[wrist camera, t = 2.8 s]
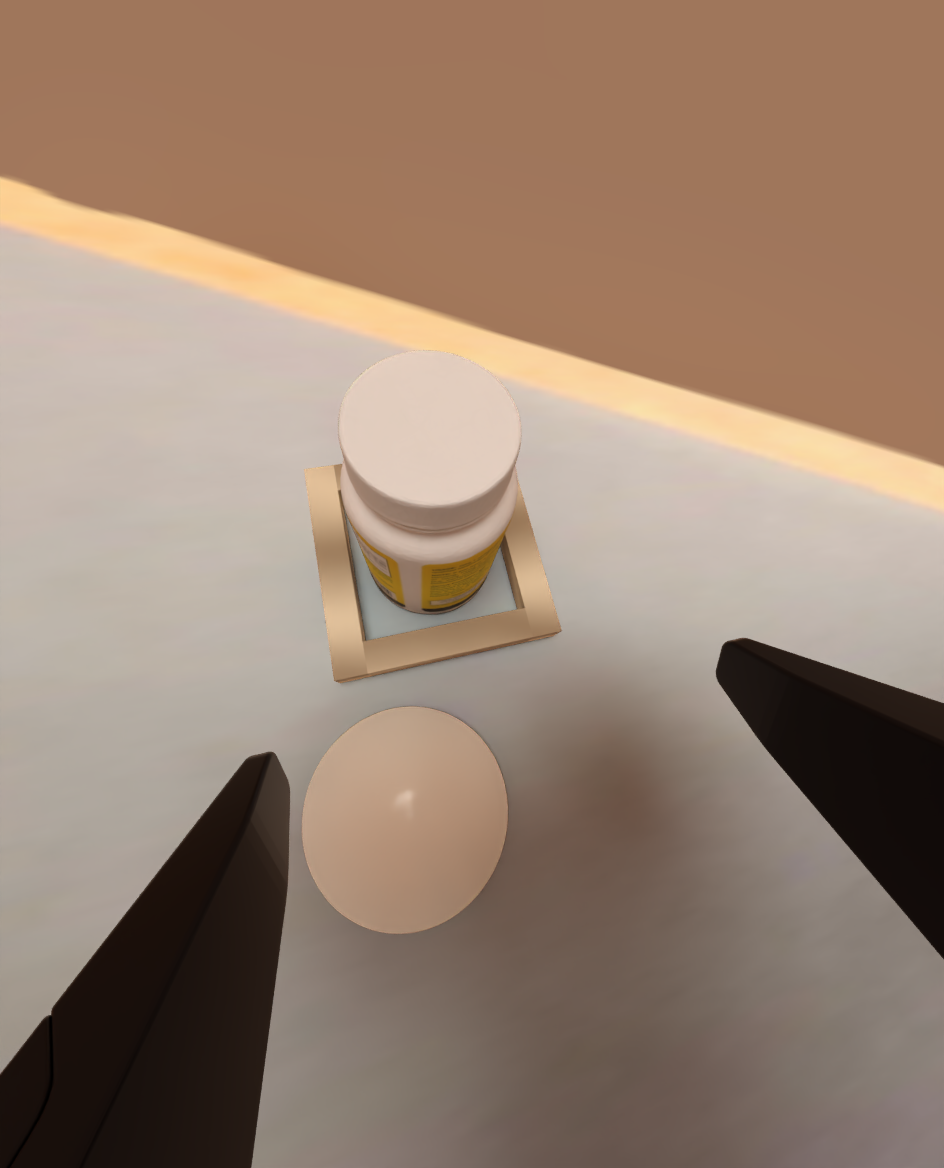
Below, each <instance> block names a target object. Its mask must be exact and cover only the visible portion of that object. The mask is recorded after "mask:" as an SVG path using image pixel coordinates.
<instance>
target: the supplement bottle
mask: <svg viewBox="0 0 944 1168" xmlns="http://www.w3.org/2000/svg"><path fill="white" fill-rule="evenodd" d="M338 435H339V441H340V446H341V450H342V454H343V457H344V460H343V464H342V469H341V477H340V487H341V495H342V500H343V505H344V508H345V511H346V514H347V516H348V519H349V521H350V523H351V526H352V528H353V530H354V533H355V535H356V538H357V540H358V543H359V545H360V548H361V550H362V553H363V555H364V558H365V560H366V562H367V565H368V567H369V570H370V572H371V575H372V577H373V579H374V581H375V583H376V585H377V586H378V588H379V589H380V591H381V592H382V593H383V594H384V595H385V596H386V597H387V598H388V599H389V600H390V601H392V602H393V603H394V604H396V605H398V606H399V607H401V608H404V609H406V610H409V611H412V612H416V613H423V614H438V613H444V612H448V611H451V610H454V609H456V608H458V607H460V606H462V605H464V604H465V603H466V602H468V601H469V600H470V599H471V598H473V597H474V595H475V594H476V593H477V592H478V591H479V589H480V588H481V586H482V585H483V583H484V581H485V579H486V577H487V575H488V572H489V570H490V568H491V565H492V563H493V561H494V558H495V556H496V554H497V551H498V549H499V547H500V544H501V542H502V539H503V537H504V535H505V532H506V530H507V528H508V526H509V523H510V521H511V519H512V516H513V513H514V510H515V506H516V501H517V493H518V479H517V471H516V467H515V464H516V461H517V457H518V454H519V450H520V445H521V423H520V417H519V414H518V410H517V407H516V405H515V403H514V401H513V399H512V397H511V395H510V394H509V392H508V391H507V389H506V388H505V387H504V385H503V384H502V383H501V382H500V381H499V380H498V379H497V378H496V377H495V376H494V375H493V374H492V373H491V372H489V371H488V370H486V369H485V368H484V367H482V366H480V365H479V364H477V363H475V362H473V361H471V360H469V359H466V358H464V357H461V356H458V355H455V354H452V353H447V352H441V351H430V350H420V351H410V352H405V353H401V354H397V355H394V356H391V357H388V358H386V359H383V360H381V361H379V362H378V363H376V364H374V365H372V366H371V367H369V368H368V369H367V370H365V371H364V372H363V373H362V374H361V375H360V376H359V377H358V378H357V379H356V380H355V381H354V383H353V384H352V385H351V386H350V388H349V389H348V391H347V393H346V395H345V397H344V399H343V402H342V405H341V408H340V412H339V418H338Z"/></svg>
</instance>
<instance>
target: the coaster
mask: <svg viewBox="0 0 944 1168" xmlns="http://www.w3.org/2000/svg"><path fill="white" fill-rule="evenodd" d="M507 824H508V803H507V794H506V789H505V784H504V780H503V777H502V774H501V771H500V768H499V766H498V764H497V762H496V760H495V757H494V756H493V754H492V753H491V751H490V749H489V748H488V746H487V745H486V744H485V742H484V741H483V740H482V739H481V738H480V736H479V735H478V734H477V733H476V732H474V731H473V730H472V729H471V728H470V727H469V726H467V725H466V724H465V723H463V722H462V721H460V720H459V719H457V718H455V717H453V716H451V715H449V714H447V713H444V712H441V711H439V710H435V709H431V708H426V707H415V706H410V707H398V708H393V709H388V710H384V711H381V712H378V713H375V714H373V715H371V716H369V717H367V718H365V719H363V720H361V721H360V722H358V723H357V724H355V725H354V726H352V727H351V728H350V729H348V730H347V731H346V732H345V733H344V734H342V735H341V736H340V737H339V738H338V739H337V740H336V741H335V743H334V744H333V745H332V746H331V747H330V748H329V750H328V751H327V752H326V754H325V755H324V756H323V758H322V760H321V761H320V763H319V765H318V767H317V768H316V770H315V772H314V775H313V777H312V779H311V782H310V784H309V787H308V791H307V794H306V797H305V802H304V808H303V814H302V839H303V848H304V852H305V857H306V861H307V864H308V867H309V870H310V873H311V875H312V877H313V879H314V881H315V883H316V885H317V887H318V888H319V890H320V891H321V893H322V894H323V896H324V897H325V898H326V900H327V901H328V902H329V903H330V904H331V905H332V906H333V907H334V908H335V909H336V910H337V911H338V912H340V913H341V914H342V915H343V916H345V917H346V918H347V919H349V920H351V921H352V922H354V923H356V924H358V925H360V926H362V927H365V928H368V929H370V930H373V931H378V932H383V933H390V934H405V933H414V932H419V931H423V930H426V929H430V928H432V927H435V926H437V925H439V924H441V923H444V922H446V921H447V920H449V919H450V918H452V917H454V916H455V915H457V914H458V913H459V912H461V911H462V910H463V909H464V908H465V907H467V906H468V905H469V904H470V903H471V902H472V901H473V900H474V899H475V898H476V896H477V895H478V894H479V893H480V892H481V890H482V889H483V888H484V886H485V885H486V883H487V882H488V880H489V879H490V877H491V875H492V873H493V872H494V870H495V868H496V865H497V863H498V861H499V858H500V856H501V853H502V849H503V846H504V842H505V837H506V831H507Z"/></svg>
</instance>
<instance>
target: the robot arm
mask: <svg viewBox="0 0 944 1168" xmlns="http://www.w3.org/2000/svg"><path fill="white" fill-rule="evenodd" d="M716 677H717V680H718V682H719V684H720V685H721V687H722V688H723V690H724V691H725V692H726V694H727V695H728V697H729V698H730V700H731V701H732V702H733V704H734V705H735V707H736V708H737V709H738V711H739V712H740V714H741V715H742V717H743V718H744V719H745V721H746V722H747V724H748V725H749V726H750V728H751V729H752V731H753V732H754V734H755V735H756V736H757V738H758V739H759V740H760V742H761V743H762V744H763V746H764V747H765V748H766V750H767V751H768V752H769V753H770V754H771V756H772V757H773V758H774V759H775V760H776V762H777V763H778V764H779V765H780V766H781V768H782V769H783V770H784V771H785V772H786V773H787V775H788V776H789V777H790V778H791V779H792V781H793V782H794V783H795V784H796V785H797V786H798V788H799V789H800V790H801V791H802V792H803V794H804V795H805V796H806V797H807V798H808V799H809V801H810V802H811V803H812V804H813V805H814V807H815V808H816V809H817V810H818V811H819V812H820V814H821V815H822V816H823V817H824V818H825V820H826V821H827V822H828V823H829V824H830V825H831V827H832V828H833V829H834V830H835V831H836V833H837V834H838V835H839V836H840V837H841V838H842V840H843V841H844V842H845V843H846V844H847V846H848V847H849V848H850V849H851V850H852V851H853V853H854V854H855V855H856V856H857V857H858V859H859V860H860V861H861V862H862V863H863V864H864V866H865V867H866V868H867V869H868V870H869V872H870V873H871V874H872V875H873V876H874V877H875V879H876V880H877V881H878V882H879V883H880V885H881V886H882V887H883V888H884V889H885V890H886V892H887V893H888V894H889V895H890V896H891V898H892V899H893V900H894V901H895V902H896V903H897V905H898V906H899V907H900V908H901V909H902V911H903V912H904V913H905V914H906V915H907V916H908V918H909V919H910V920H911V921H912V922H913V924H914V925H915V926H916V927H917V928H918V929H919V931H920V932H921V933H922V934H923V935H924V937H925V938H926V939H927V940H928V941H929V942H930V944H931V945H932V946H933V947H934V948H935V950H936V951H937V952H938V953H939V954H940V955H941V957H942V958H943V959H944V703H941V702H938V701H935V700H932V699H929V698H926V697H923V696H920V695H917V694H914V693H911V692H908V691H905V690H902V689H899V688H896V687H893V686H890V685H887V684H884V683H881V682H878V681H875V680H872V679H869V678H866V677H863V676H860V675H857V674H854V673H851V672H848V671H845V670H841V669H838V668H835V667H832V666H829V665H826V664H823V663H820V662H817V661H814V660H811V659H808V658H805V657H802V656H799V655H796V654H793V653H790V652H787V651H784V650H781V649H778V648H775V647H772V646H769V645H766V644H763V643H760V642H757V641H754V640H751V639H748V638H739V639H735V640H730V641H727V642H725V643H724V644H723V646H722V649H721V653H720V657H719V660H718V664H717V668H716ZM289 822H290V787H289V782H288V779H287V777H286V775H285V773H284V771H283V768H282V766H281V764H280V762H279V760H278V758H277V756H276V754H275V753H274V752H266V753H262V754H258V755H253V756H250V757H248V758H247V759H246V760H245V761H244V762H243V763H242V765H241V766H240V767H239V769H238V770H237V771H236V772H235V774H234V775H233V776H232V778H231V779H230V780H229V781H228V783H227V784H226V785H225V787H224V788H223V789H222V790H221V792H220V793H219V794H218V796H217V797H216V798H215V799H214V801H213V802H212V803H211V805H210V806H209V807H208V808H207V810H206V811H205V812H204V814H203V815H202V816H201V817H200V819H199V820H198V821H197V823H196V824H195V825H194V826H193V828H192V829H191V830H190V832H189V833H188V834H187V835H186V837H185V838H184V839H183V841H182V842H181V843H180V844H179V846H178V847H177V848H176V850H175V851H174V852H173V853H172V855H171V856H170V857H169V859H168V860H167V861H166V862H165V864H164V865H163V866H162V868H161V869H160V870H159V871H158V873H157V874H156V875H155V877H154V878H153V879H152V880H151V882H150V883H149V884H148V885H147V887H146V888H145V889H144V891H143V892H142V893H141V894H140V896H139V897H138V898H137V900H136V901H135V902H134V903H133V905H132V906H131V907H130V909H129V910H128V911H127V912H126V914H125V915H124V916H123V918H122V919H121V920H120V921H119V923H118V924H117V925H116V927H115V928H114V929H113V930H112V932H111V933H110V934H109V936H108V937H107V938H106V939H105V941H104V942H103V943H102V945H101V946H100V947H99V948H98V950H97V951H96V952H95V954H94V955H93V956H92V957H91V959H90V960H89V961H88V963H87V964H86V965H85V966H84V968H83V969H82V970H81V972H80V973H79V974H78V975H77V977H76V978H75V979H74V981H73V982H72V983H71V984H70V986H69V987H68V988H67V990H66V991H65V992H64V993H63V995H62V996H61V997H60V999H59V1000H58V1001H57V1002H56V1004H55V1005H54V1006H53V1008H52V1011H51V1015H48V1016H46V1017H45V1018H44V1019H43V1020H42V1021H41V1023H40V1024H39V1025H38V1026H37V1028H36V1029H35V1030H34V1032H33V1033H32V1034H31V1035H30V1037H29V1038H28V1039H27V1041H26V1042H25V1043H24V1044H23V1046H22V1047H21V1048H20V1050H19V1051H18V1052H17V1053H16V1055H15V1056H14V1057H13V1059H12V1060H11V1061H10V1062H9V1064H8V1065H7V1066H6V1067H5V1069H4V1070H3V1071H2V1072H1V1074H0V1168H251V1165H252V1158H253V1150H254V1142H255V1135H256V1127H257V1119H258V1112H259V1104H260V1096H261V1089H262V1081H263V1073H264V1066H265V1058H266V1051H267V1043H268V1035H269V1028H270V1020H271V1012H272V1005H273V997H274V989H275V982H276V974H277V966H278V959H279V951H280V944H281V936H282V928H283V921H284V913H285V905H286V897H287V887H288V865H289Z"/></svg>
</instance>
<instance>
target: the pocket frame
mask: <svg viewBox="0 0 944 1168" xmlns="http://www.w3.org/2000/svg"><path fill="white" fill-rule="evenodd" d="M341 469H342V464H339V465H331V466H324V467H317V468H310V469H304V472H305V479H306V486H307V493H308V500H309V507H310V514H311V521H312V528H313V535H314V542H315V549H316V556H317V563H318V570H319V577H320V584H321V591H322V598H323V605H324V612H325V619H326V627H327V634H328V641H329V648H330V655H331V662H332V669H333V676H334V681H336V682H339V683H343V682H348V681H352V680H357V679H361V678H366V677H370V676H375V675H379V674H384V673H388V672H393V671H398V670H402V669H407V668H411V667H416V666H420V665H425V664H429V663H434V662H438V661H443V660H447V659H452V658H456V657H461V656H465V655H470V654H474V653H479V652H483V651H488V650H492V649H497V648H501V647H506V646H510V645H515V644H519V643H524V642H528V641H533V640H537V639H542V638H546V637H551V636H554V635H556V634H557V633H559V632H561V631H562V630H561V627H560V623H559V620H558V616H557V613H556V610H555V606H554V603H553V599H552V596H551V592H550V589H549V585H548V582H547V579H546V575H545V572H544V568H543V565H542V561H541V558H540V554H539V551H538V547H537V544H536V541H535V537H534V534H533V530H532V527H531V523H530V520H529V516H528V513H527V510H526V506H525V503H524V499H523V496H522V492H521V489H520V485H519V482H518V493H517V501H516V506H515V510H514V513H513V516H512V519H511V521H510V523H509V526H508V528H507V530H506V532H505V535H504V537H503V539H502V542H501V544H500V546H501V550H502V553H503V557H504V561H505V565H506V568H507V572H508V576H509V580H510V584H511V587H512V591H513V595H514V599H515V602H516V606H517V610H512V611H508V612H503V613H498V614H493V615H488V616H483V617H479V618H474V619H469V620H464V621H459V622H455V623H450V624H445V625H440V626H435V627H431V628H426V629H421V630H416V631H411V632H406V633H402V634H397V635H392V636H387V637H382V638H378V639H373V640H368V641H366V639H365V633H364V627H363V621H362V615H361V609H360V603H359V597H358V591H357V585H356V579H355V573H354V567H353V561H352V555H351V548H350V542H349V536H348V530H347V524H346V518H345V512H344V506H343V500H342V495H341V487H340V477H341ZM517 479H518V478H517Z"/></svg>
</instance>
